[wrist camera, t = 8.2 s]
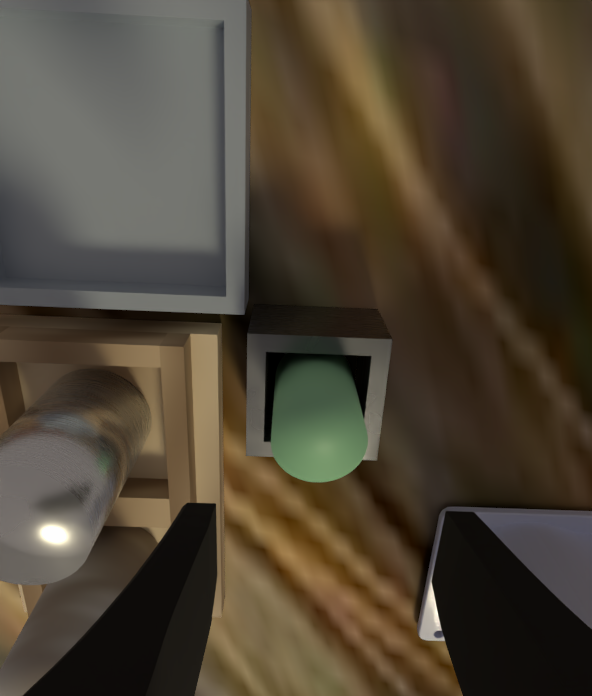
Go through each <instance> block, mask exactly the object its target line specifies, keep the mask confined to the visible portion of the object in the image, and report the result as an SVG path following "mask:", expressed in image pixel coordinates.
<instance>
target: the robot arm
mask: <svg viewBox="0 0 592 696" xmlns="http://www.w3.org/2000/svg"><path fill="white" fill-rule="evenodd" d="M216 583H217V524H216V503H186V504H185V505H184V506H183V507H182V508H181V510H180V512H179V513H178V515H177V517H176V518H175V520H174V521H173V523H172V524H171V526H170V527H169V529H168V530H167V532H166V533H165V535H164V536H163V538H162V539H161V541H160V542H159V543H158V545H157V546H156V548H155V549H154V550H153V552H152V553H151V554H150V556H149V557H148V558H147V560H146V561H145V562H144V564H143V565H142V566H141V568H140V569H139V570H138V572H137V573H136V574H135V576H134V577H133V578H132V579H131V581H130V582H129V583H128V584H127V586H126V587H125V588H124V589H123V590H122V592H121V593H120V594H119V595H118V596H117V597H116V599H115V600H114V601H113V602H112V603H111V605H110V606H109V607H108V608H107V609H106V610H105V612H104V613H103V614H102V615H101V616H100V618H99V619H98V620H97V621H96V622H95V623H94V624H93V625H92V626H91V628H90V629H89V630H88V631H87V632H86V633H85V634H84V635H83V636H82V637H81V638H80V639H79V640H78V642H77V643H76V644H75V645H74V646H73V647H72V648H71V649H70V650H69V651H68V652H67V653H66V654H65V655H64V656H63V657H62V658H61V659H60V660H59V661H58V662H57V663H56V664H55V665H54V666H53V667H52V668H51V669H50V670H49V671H48V672H47V673H46V674H45V675H44V676H43V677H41V678H40V679H39V680H38V681H37V682H36V683H35V684H34V685H33V686H32V687H31V688H30V689H29V690H28V691H27V692H26V693H25V694H24V695H22V696H194V694H195V690H196V686H197V682H198V678H199V673H200V669H201V665H202V661H203V656H204V652H205V648H206V644H207V639H208V635H209V631H210V626H211V621H212V613H213V606H214V599H215V591H216ZM417 631H418V635H419V637H420V638H421V639H423V640H429V641H445V642H446V645H447V648H448V651H449V655H450V658H451V661H452V664H453V667H454V670H455V673H456V676H457V679H458V682H459V685H460V688H461V691H462V694H463V696H592V511H573V510H543V509H512V508H482V507H447V508H445V509H443V510H442V511H441V512H440V515H439V519H438V524H437V529H436V534H435V539H434V544H433V549H432V554H431V560H430V565H429V570H428V575H427V580H426V585H425V590H424V595H423V600H422V605H421V610H420V615H419V620H418V626H417Z"/></svg>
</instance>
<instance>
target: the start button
mask: <svg viewBox="0 0 592 696" xmlns="http://www.w3.org/2000/svg"><path fill="white" fill-rule="evenodd" d="M367 445H368V435H367V430H366V426H365V422H364V418H363V414H362V410H361V406H360V402H359V398H358V394H357V390H356V386H355V382H354V378H353V374H352V370H351V367H350V364H349V362H348V360H347V359H346V357H345V356H344V355H334V354H309V353H286V354H285V355H284V356H283V358H282V359H281V360H280V362H279V364H278V366H277V369H276V375H275V389H274V403H273V416H272V430H271V449H272V453H273V455H274V458H275V459H276V461H277V463H278V464H279V465H280V466H281V467H282V469H283V470H285V471H286V472H287V473H289V474H290V475H292V476H294V477H296V478H298V479H301V480H304V481H309V482H327V481H332V480H336V479H339V478H341V477H343V476H345V475H347V474H348V473H350V472H351V471H352V470H354V469H355V468H356V467H357V466H358V465H359V463H360V462H361V461H362V459H363V457H364V455H365V453H366V450H367Z"/></svg>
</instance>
